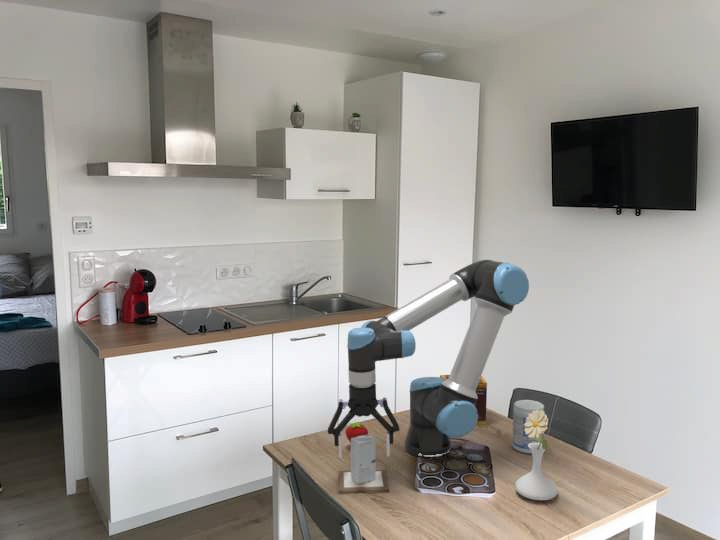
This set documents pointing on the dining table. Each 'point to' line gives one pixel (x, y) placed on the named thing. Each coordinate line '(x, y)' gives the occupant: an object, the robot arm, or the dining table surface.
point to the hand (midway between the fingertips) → (364, 455)
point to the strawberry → (355, 430)
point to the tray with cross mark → (367, 487)
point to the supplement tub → (519, 419)
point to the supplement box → (481, 401)
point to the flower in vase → (536, 461)
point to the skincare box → (363, 459)
